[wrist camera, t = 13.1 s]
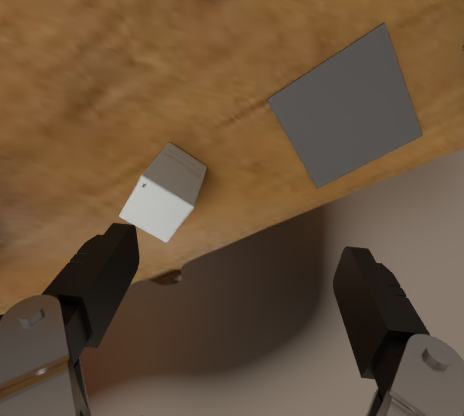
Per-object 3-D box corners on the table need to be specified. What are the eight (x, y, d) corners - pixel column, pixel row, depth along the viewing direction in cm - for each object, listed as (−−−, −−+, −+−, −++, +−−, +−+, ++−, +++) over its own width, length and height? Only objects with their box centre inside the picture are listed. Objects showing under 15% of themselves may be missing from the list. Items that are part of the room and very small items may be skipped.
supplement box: (147, 175, 46) (115, 216, 36) (169, 140, 43) (140, 173, 32) (185, 199, 48) (166, 245, 38) (209, 167, 45) (195, 207, 34)
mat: (267, 99, 39) (267, 99, 39) (382, 23, 34) (384, 22, 33) (316, 186, 45) (317, 188, 45) (420, 134, 40) (422, 135, 40)
